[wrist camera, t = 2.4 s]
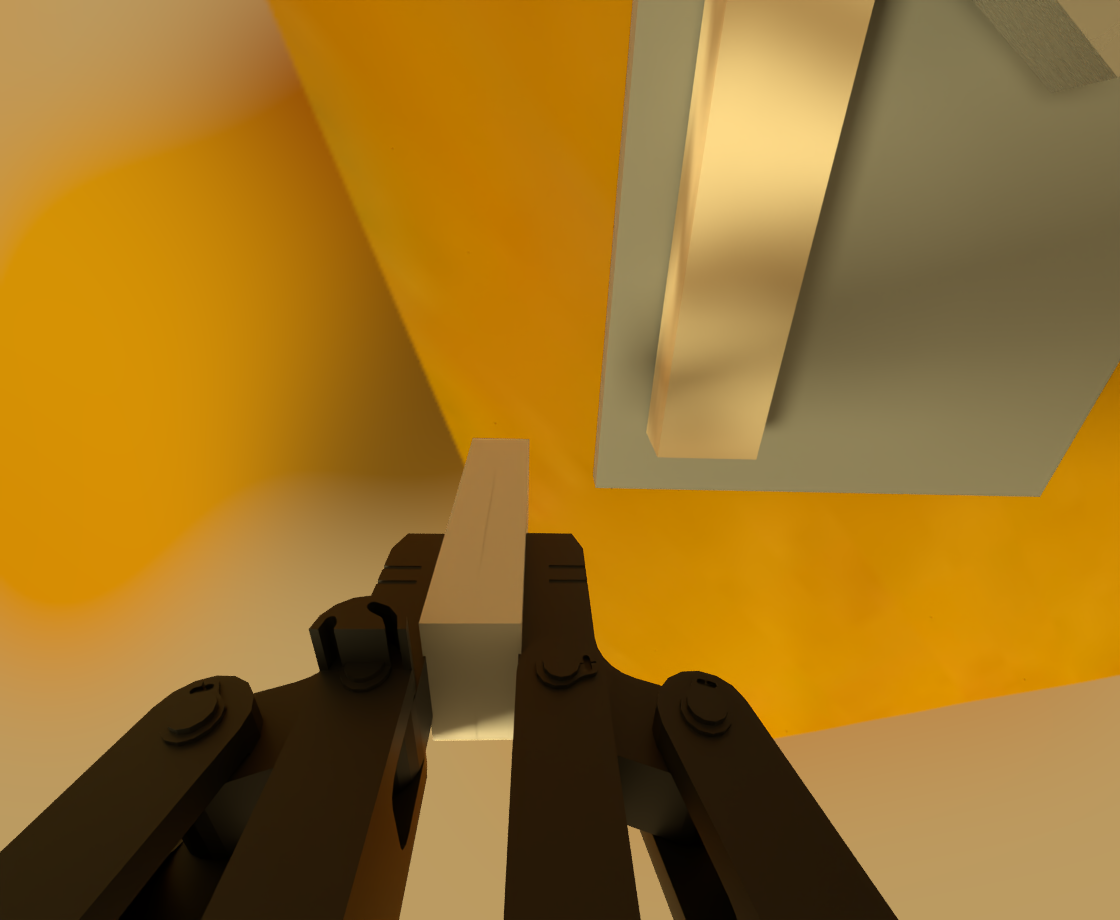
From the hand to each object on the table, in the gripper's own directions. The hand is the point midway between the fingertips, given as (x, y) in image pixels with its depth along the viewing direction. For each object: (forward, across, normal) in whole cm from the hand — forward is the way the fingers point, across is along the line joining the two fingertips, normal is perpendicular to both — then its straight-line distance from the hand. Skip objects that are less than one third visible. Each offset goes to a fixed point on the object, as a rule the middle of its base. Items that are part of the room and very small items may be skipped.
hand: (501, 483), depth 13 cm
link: (+7, +8, +8) cm, 13 cm away
